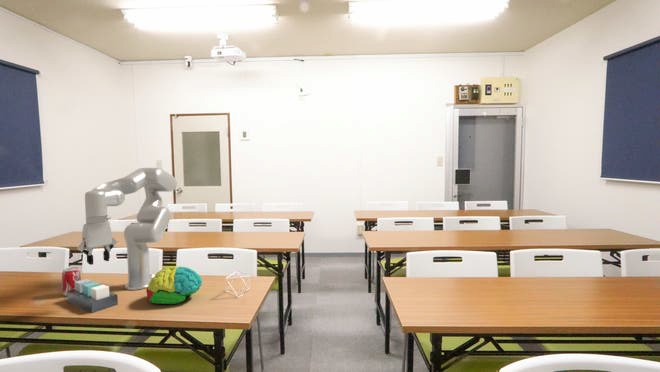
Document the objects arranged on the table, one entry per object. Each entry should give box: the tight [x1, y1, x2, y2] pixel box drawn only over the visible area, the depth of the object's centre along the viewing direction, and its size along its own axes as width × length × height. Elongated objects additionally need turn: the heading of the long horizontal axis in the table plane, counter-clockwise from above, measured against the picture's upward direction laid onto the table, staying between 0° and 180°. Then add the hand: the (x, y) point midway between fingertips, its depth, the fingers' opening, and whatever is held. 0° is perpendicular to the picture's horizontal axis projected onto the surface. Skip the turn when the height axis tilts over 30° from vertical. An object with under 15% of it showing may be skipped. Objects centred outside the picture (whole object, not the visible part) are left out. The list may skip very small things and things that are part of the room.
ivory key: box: [90, 284, 110, 300], centre depth 147 cm, size 5×5×5 cm
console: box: [66, 289, 119, 314], centre depth 151 cm, size 10×23×5 cm, turn 58°
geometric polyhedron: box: [225, 270, 251, 299], centre depth 162 cm, size 12×11×9 cm
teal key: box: [82, 281, 102, 297], centre depth 151 cm, size 5×5×5 cm
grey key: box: [75, 278, 93, 293], centre depth 155 cm, size 5×5×5 cm
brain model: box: [145, 265, 203, 305], centre depth 155 cm, size 24×19×15 cm
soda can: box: [61, 267, 82, 297], centre depth 162 cm, size 7×7×12 cm
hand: (98, 261), depth 146 cm, fingers open, 5 cm apart
